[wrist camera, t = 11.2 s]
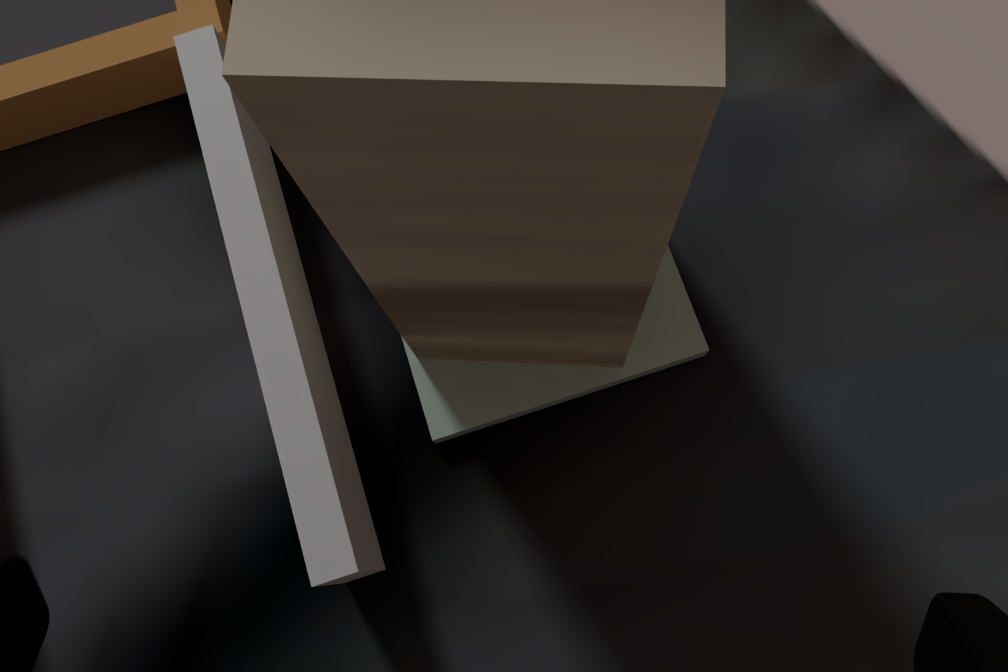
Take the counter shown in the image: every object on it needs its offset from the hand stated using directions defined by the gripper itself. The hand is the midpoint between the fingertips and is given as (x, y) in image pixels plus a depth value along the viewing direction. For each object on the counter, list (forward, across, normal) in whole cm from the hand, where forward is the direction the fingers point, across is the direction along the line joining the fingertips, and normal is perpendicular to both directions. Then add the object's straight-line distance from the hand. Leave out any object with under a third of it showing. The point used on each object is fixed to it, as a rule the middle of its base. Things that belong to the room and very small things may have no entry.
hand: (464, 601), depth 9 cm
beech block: (+14, 0, +3) cm, 14 cm away
